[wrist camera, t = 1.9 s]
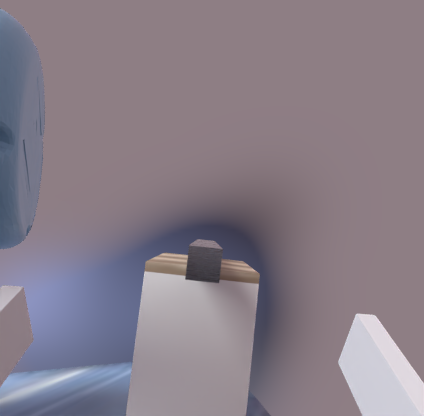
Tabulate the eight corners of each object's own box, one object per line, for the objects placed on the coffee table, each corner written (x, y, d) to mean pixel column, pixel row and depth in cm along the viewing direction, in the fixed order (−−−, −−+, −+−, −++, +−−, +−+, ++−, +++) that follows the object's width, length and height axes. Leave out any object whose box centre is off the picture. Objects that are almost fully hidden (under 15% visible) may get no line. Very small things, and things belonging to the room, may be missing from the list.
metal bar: (219, 283, 25) (222, 249, 26) (185, 279, 25) (189, 245, 25) (212, 258, 51) (214, 241, 51) (195, 256, 51) (197, 239, 51)
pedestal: (233, 541, 33) (259, 274, 35) (110, 528, 32) (146, 261, 35) (225, 440, 48) (243, 261, 51) (142, 431, 48) (165, 252, 51)
